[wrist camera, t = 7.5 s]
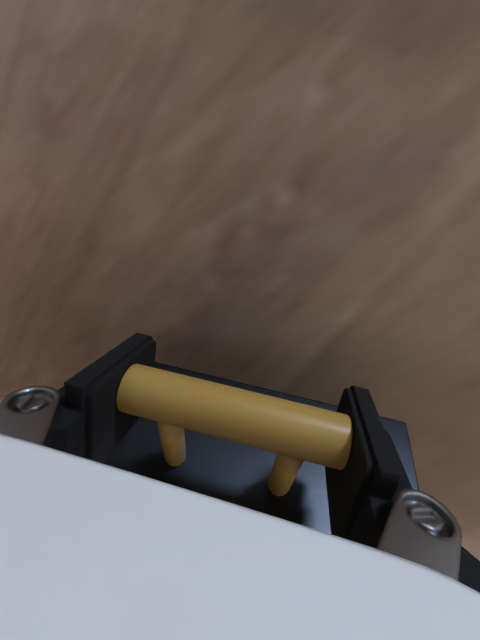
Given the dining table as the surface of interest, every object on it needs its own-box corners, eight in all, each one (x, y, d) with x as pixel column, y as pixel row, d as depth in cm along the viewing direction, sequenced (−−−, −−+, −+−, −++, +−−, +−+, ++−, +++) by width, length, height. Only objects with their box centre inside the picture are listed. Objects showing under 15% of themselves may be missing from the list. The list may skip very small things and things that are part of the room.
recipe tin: (82, 269, 13) (-169, 482, 7) (469, 350, 11) (659, 764, 5) (138, 442, 24) (65, 586, 18) (339, 497, 22) (342, 683, 16)
